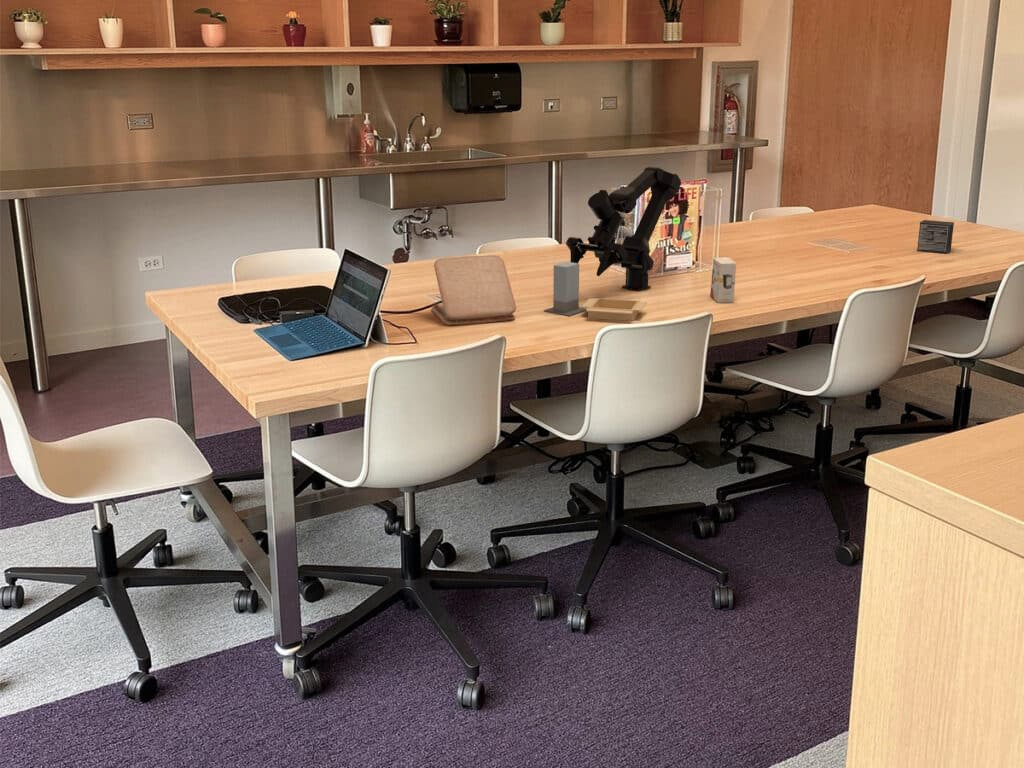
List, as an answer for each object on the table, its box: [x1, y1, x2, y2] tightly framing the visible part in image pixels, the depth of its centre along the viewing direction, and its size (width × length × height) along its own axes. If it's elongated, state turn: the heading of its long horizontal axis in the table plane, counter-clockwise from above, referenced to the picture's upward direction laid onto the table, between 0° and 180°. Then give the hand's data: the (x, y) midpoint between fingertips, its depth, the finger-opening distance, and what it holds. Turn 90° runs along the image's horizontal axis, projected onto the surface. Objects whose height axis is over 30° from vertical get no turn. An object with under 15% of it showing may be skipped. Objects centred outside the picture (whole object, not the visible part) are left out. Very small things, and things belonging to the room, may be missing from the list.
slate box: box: [552, 261, 580, 313], centre depth 315 cm, size 6×4×13 cm
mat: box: [543, 306, 587, 317], centre depth 317 cm, size 9×9×1 cm
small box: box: [916, 219, 955, 255], centre depth 394 cm, size 11×6×10 cm, turn 58°
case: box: [431, 254, 517, 326], centre depth 311 cm, size 20×21×16 cm
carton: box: [581, 297, 648, 322], centre depth 313 cm, size 18×17×3 cm
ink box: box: [709, 256, 737, 304], centre depth 327 cm, size 9×5×12 cm, turn 6°
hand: (584, 273), depth 320 cm, fingers open, 9 cm apart
